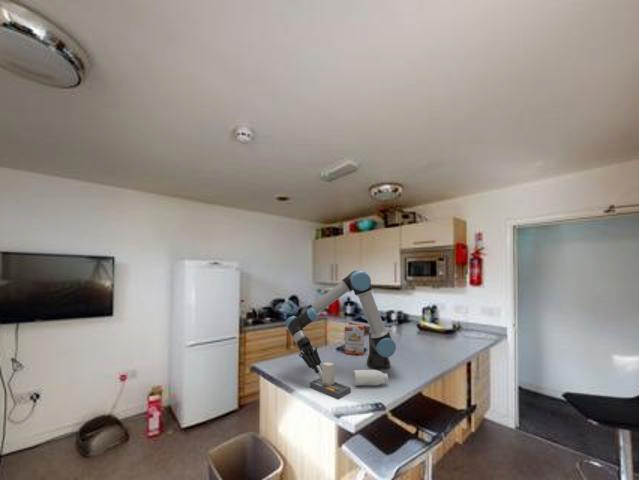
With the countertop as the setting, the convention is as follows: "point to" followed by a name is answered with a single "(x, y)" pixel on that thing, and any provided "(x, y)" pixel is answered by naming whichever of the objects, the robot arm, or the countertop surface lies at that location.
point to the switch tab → (328, 373)
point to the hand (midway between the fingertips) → (322, 377)
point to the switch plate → (331, 388)
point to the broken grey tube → (369, 377)
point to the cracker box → (354, 339)
